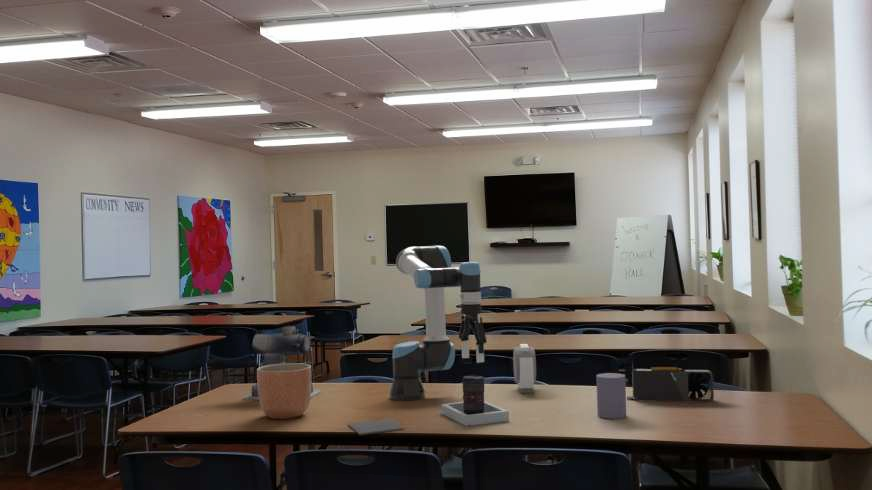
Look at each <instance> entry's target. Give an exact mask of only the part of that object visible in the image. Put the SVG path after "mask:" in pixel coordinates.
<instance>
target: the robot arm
mask: <svg viewBox="0 0 872 490" xmlns="http://www.w3.org/2000/svg"><path fill="white" fill-rule="evenodd" d="M451 259H452V258H451V254H450V252H449V249H448V248H447V247H445V246H444V245H424V246H422V245H421V246H416V245H415V246H409V247H406V248H404V249H402V250H401V251H400V252H399V253H398V254H397V256H396V259H395V264H396V269H398V270H399V272H400V273H401V274H403V275H409V276H410V277H412V278H413V283H414V285H415V286H414V287H416V288H417V289H423V290H424V310H425V311H424V312H425V335H426V336H425V337H424V338H423V339H422V344H421V343H420V342H419V341H418V340H415V341H414V340H413V341H412V340H411V341H406V342H401V343H398V344H395V345H394V346H393V348H392V357H391V358H392V377H393V380H392V384H391V387H390V391H389V399H391V400H394V401H417V400H421V399H423V398H425V397H426V391H425V388H424V385H423V383H422V380H421V373H422V372H433V371H445V370H450V369H451V368H452V366H453V365H454V362H455V356H456V350H455V349H456V348H455V344H454V343H453V342H451V340H450V338H449V337H448V335H447V329H446V325H447V324H446V307H445V306H446V304H445V302H446V301H445V288H457V287H458V288H460V295H459V297H460V302H461V305H460V309H461V311H460V312H461V314H462V315H461V319H460V325H459V326H460V327H459V332H458V339H460V341H461V358H462V359H470V342H469V341H470V338H469V336H470V334H471V331H472V333H473V336H474V338H475V339H474V340H475V341H476V343H475V351H476V353H475V354H476V356H475V357H476V363H477V364H479V363H485V348H484V347H485V346H484V345H485V344H487V336H486V333H485V327H484V324H483V317H482V316H478V315H480V314H481V313H482V304H481V302H482V292H481V291H482V290H481V267H480V263H479V262H478V261H473V262H472V261H467V262H465V261H464V262H460V263H459V266H456V267H452V260H451Z"/></svg>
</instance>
